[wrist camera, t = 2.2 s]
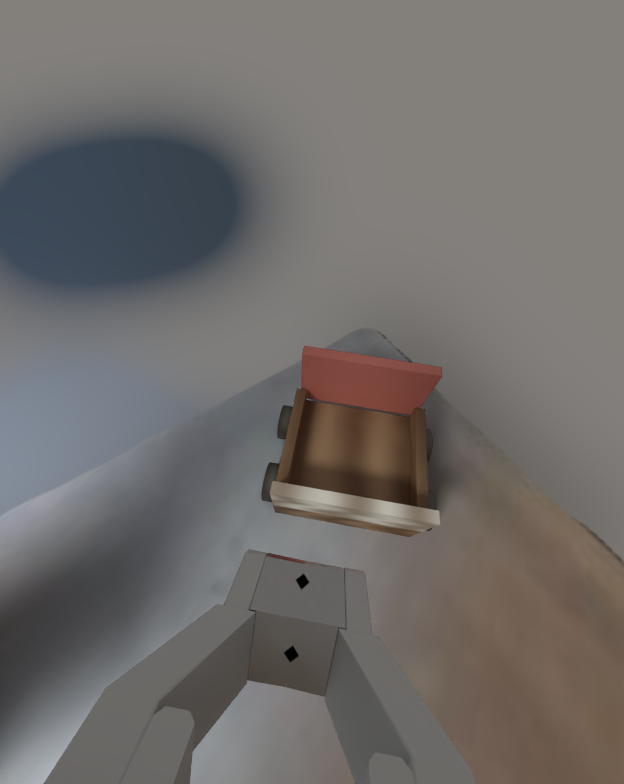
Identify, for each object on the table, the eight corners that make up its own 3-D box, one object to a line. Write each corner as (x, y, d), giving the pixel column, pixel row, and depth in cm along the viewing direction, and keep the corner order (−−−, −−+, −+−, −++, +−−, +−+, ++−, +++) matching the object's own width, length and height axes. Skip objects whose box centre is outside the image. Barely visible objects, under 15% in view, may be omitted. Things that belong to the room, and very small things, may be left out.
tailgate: (301, 397, 40) (302, 354, 33) (303, 386, 41) (305, 341, 34) (414, 415, 39) (442, 376, 32) (413, 404, 40) (441, 362, 33)
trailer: (262, 509, 36) (253, 490, 29) (286, 410, 44) (283, 374, 36) (422, 539, 35) (457, 527, 28) (419, 433, 43) (446, 401, 35)
